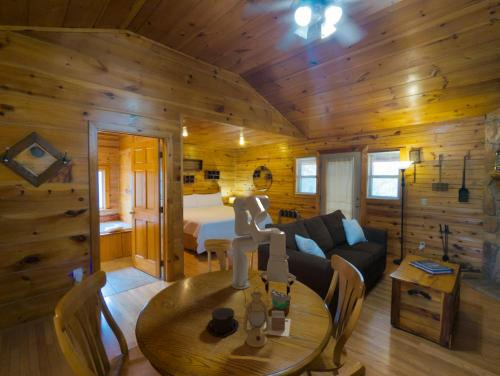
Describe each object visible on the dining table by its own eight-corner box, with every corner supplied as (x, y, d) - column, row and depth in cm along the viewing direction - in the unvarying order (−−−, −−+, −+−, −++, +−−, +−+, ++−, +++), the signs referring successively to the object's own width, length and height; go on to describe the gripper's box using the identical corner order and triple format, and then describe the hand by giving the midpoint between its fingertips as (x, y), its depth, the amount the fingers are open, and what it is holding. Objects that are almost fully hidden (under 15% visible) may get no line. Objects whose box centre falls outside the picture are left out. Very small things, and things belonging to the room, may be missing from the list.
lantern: (244, 349, 102) (244, 278, 101) (241, 335, 112) (241, 270, 111) (272, 347, 104) (272, 277, 103) (267, 332, 113) (267, 268, 112)
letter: (267, 316, 127) (267, 316, 127) (290, 319, 124) (290, 319, 124) (262, 333, 113) (262, 332, 113) (288, 337, 110) (288, 336, 110)
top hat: (202, 335, 112) (202, 313, 111) (212, 317, 127) (212, 297, 126) (235, 338, 110) (235, 315, 109) (241, 319, 124) (241, 299, 124)
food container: (265, 309, 133) (265, 291, 133) (272, 305, 138) (272, 288, 137) (284, 318, 125) (284, 299, 125) (291, 313, 129) (291, 295, 129)
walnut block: (271, 322, 121) (271, 310, 121) (283, 322, 121) (283, 310, 121) (271, 329, 115) (272, 317, 115) (284, 330, 115) (284, 317, 115)
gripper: (296, 256, 118) (296, 291, 119) (261, 253, 122) (261, 287, 123) (295, 261, 111) (295, 298, 111) (258, 258, 115) (258, 294, 116)
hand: (277, 292), depth 117 cm, fingers open, 9 cm apart
